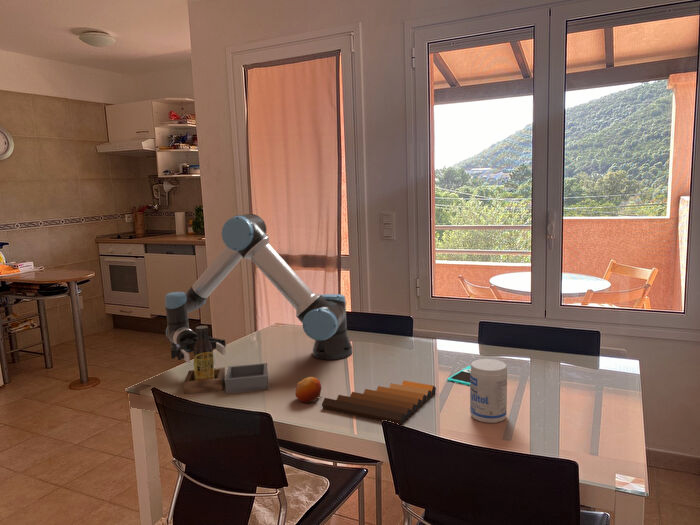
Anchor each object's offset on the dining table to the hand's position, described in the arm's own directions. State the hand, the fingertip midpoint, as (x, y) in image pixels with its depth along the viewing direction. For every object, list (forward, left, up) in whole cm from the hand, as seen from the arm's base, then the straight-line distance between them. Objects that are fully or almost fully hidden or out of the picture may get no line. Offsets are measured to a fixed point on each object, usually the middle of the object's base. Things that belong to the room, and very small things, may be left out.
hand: (206, 354), depth 172 cm
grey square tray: (-12, -1, -11) cm, 17 cm away
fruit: (-31, +17, -12) cm, 38 cm away
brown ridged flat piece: (-52, +24, -12) cm, 59 cm away
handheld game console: (-85, +12, -12) cm, 87 cm away
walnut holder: (+2, -4, -11) cm, 12 cm away
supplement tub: (-78, +41, -12) cm, 89 cm away
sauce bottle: (+2, -4, -12) cm, 12 cm away
